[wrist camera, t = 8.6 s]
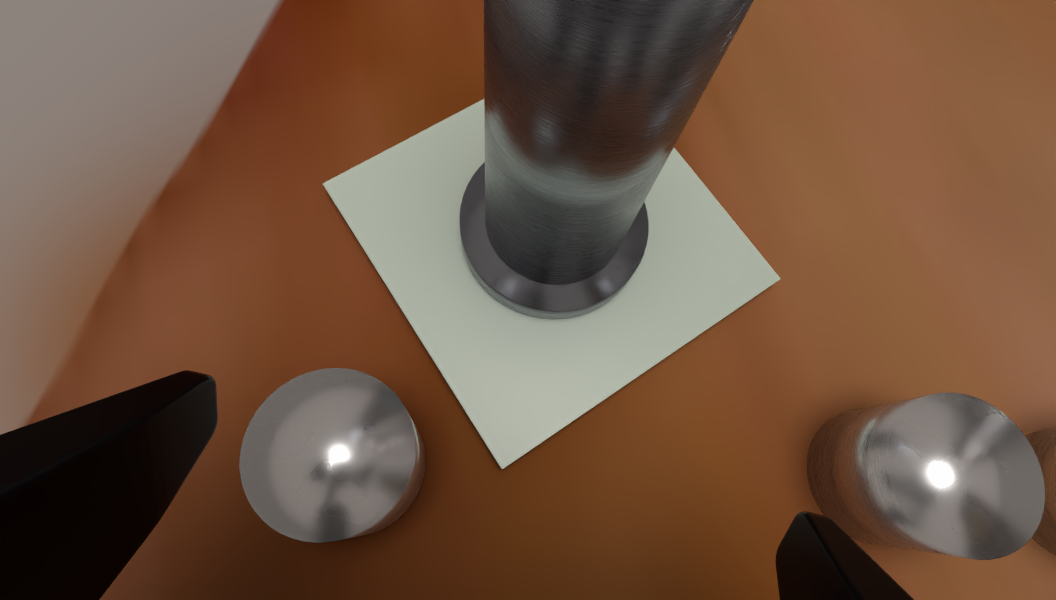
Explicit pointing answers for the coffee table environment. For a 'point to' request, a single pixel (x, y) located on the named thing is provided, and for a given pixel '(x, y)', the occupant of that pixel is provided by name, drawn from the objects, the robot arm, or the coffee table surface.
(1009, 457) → the cylinder
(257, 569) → the coffee table surface
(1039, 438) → the cylinder
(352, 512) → the cylinder
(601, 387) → the pad
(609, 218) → the standoff
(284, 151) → the coffee table surface
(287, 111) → the coffee table surface
